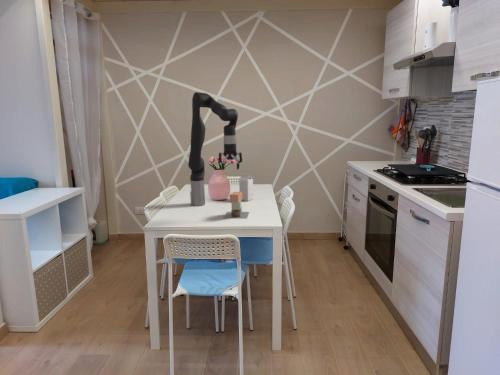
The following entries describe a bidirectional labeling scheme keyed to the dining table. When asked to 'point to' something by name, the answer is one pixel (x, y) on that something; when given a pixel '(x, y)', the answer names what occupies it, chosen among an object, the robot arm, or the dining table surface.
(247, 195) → the milk carton
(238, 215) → the walnut brick
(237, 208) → the sage brick
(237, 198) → the terracotta brick
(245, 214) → the baseplate
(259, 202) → the dining table surface
